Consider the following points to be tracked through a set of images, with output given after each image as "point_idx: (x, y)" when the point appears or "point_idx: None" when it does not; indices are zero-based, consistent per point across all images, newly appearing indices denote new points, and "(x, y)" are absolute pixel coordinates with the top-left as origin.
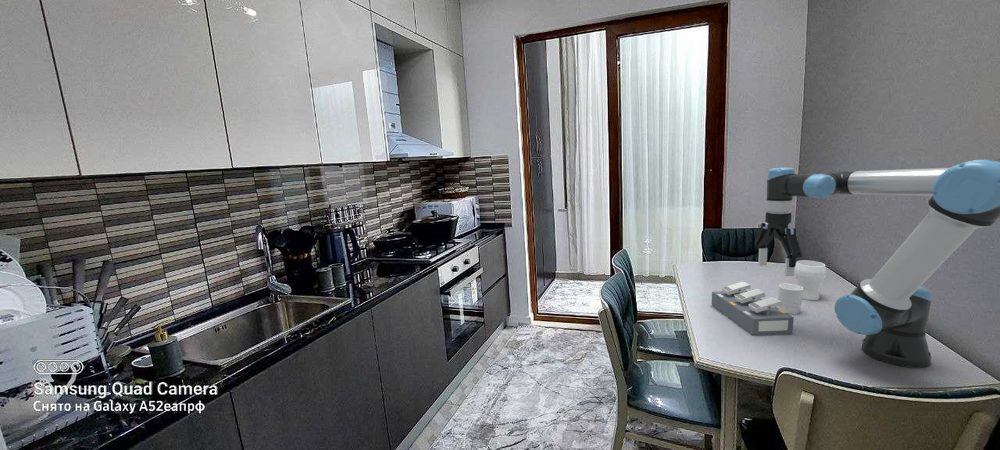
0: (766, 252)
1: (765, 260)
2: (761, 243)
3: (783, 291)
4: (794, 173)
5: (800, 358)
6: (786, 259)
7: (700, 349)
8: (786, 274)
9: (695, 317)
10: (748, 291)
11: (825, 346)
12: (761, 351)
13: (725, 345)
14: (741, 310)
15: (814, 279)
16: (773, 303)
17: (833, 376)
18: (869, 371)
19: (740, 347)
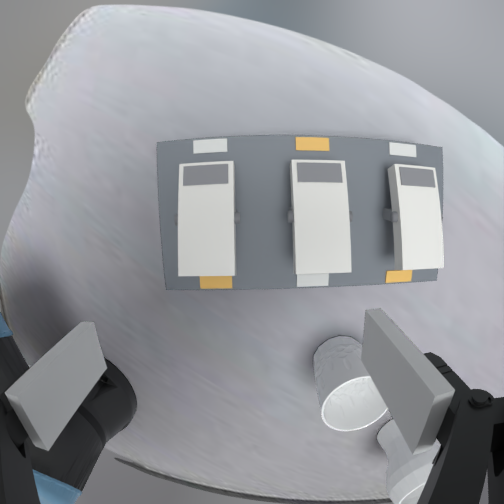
0: (400, 421)
1: (374, 372)
2: (460, 451)
3: (348, 373)
4: None
5: (58, 203)
6: (20, 385)
7: (121, 6)
8: (76, 327)
9: (321, 49)
10: (347, 226)
11: (110, 299)
12: (88, 130)
13: (127, 57)
14: (241, 140)
15: (391, 470)
16: (178, 241)
17: (11, 223)
18: (31, 299)
19: (112, 88)
